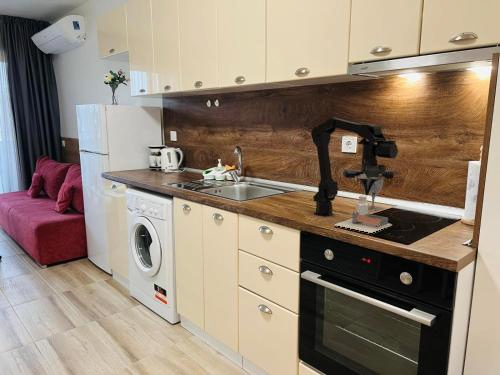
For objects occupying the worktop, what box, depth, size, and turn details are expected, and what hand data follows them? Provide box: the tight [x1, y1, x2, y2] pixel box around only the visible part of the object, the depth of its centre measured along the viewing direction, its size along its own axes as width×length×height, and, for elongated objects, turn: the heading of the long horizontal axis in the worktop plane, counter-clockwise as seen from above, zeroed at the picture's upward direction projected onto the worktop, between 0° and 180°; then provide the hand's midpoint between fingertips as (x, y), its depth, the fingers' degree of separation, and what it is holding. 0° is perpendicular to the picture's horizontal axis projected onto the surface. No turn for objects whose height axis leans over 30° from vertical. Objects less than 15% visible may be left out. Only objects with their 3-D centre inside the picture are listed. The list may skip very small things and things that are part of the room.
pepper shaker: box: [355, 195, 369, 215], centre depth 160 cm, size 4×4×10 cm
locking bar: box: [351, 211, 381, 226], centre depth 145 cm, size 12×2×4 cm, turn 43°
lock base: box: [334, 213, 393, 234], centre depth 148 cm, size 16×17×3 cm
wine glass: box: [366, 176, 384, 211], centre depth 177 cm, size 8×8×15 cm
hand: (366, 195), depth 148 cm, fingers closed
